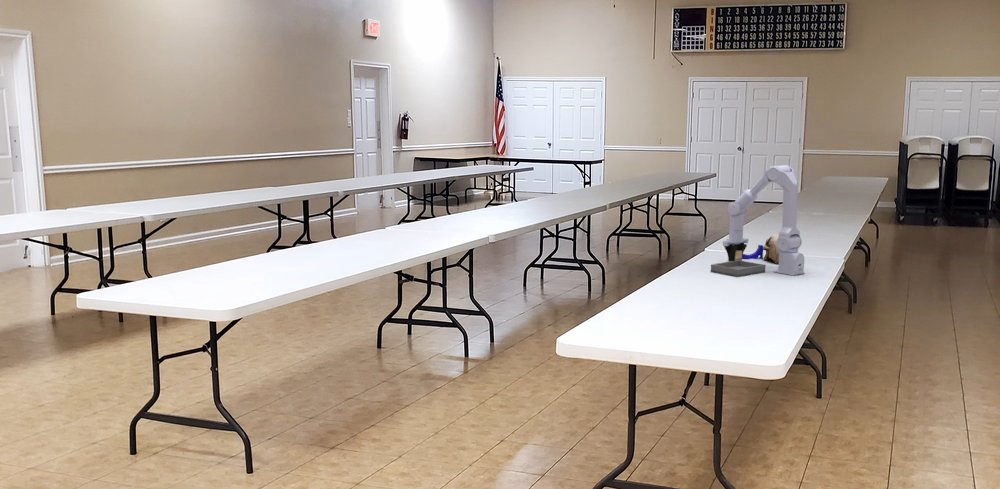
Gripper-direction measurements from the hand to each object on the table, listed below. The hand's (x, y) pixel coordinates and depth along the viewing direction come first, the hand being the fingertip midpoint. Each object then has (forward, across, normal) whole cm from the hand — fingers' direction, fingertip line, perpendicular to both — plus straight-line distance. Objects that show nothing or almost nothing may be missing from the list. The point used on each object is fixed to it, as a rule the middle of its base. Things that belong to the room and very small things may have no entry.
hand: (734, 261), depth 363 cm
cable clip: (+2, -17, -6) cm, 18 cm away
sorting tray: (+1, +13, +12) cm, 18 cm away
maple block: (+1, 0, 0) cm, 1 cm away
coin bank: (+2, -22, +7) cm, 23 cm away
